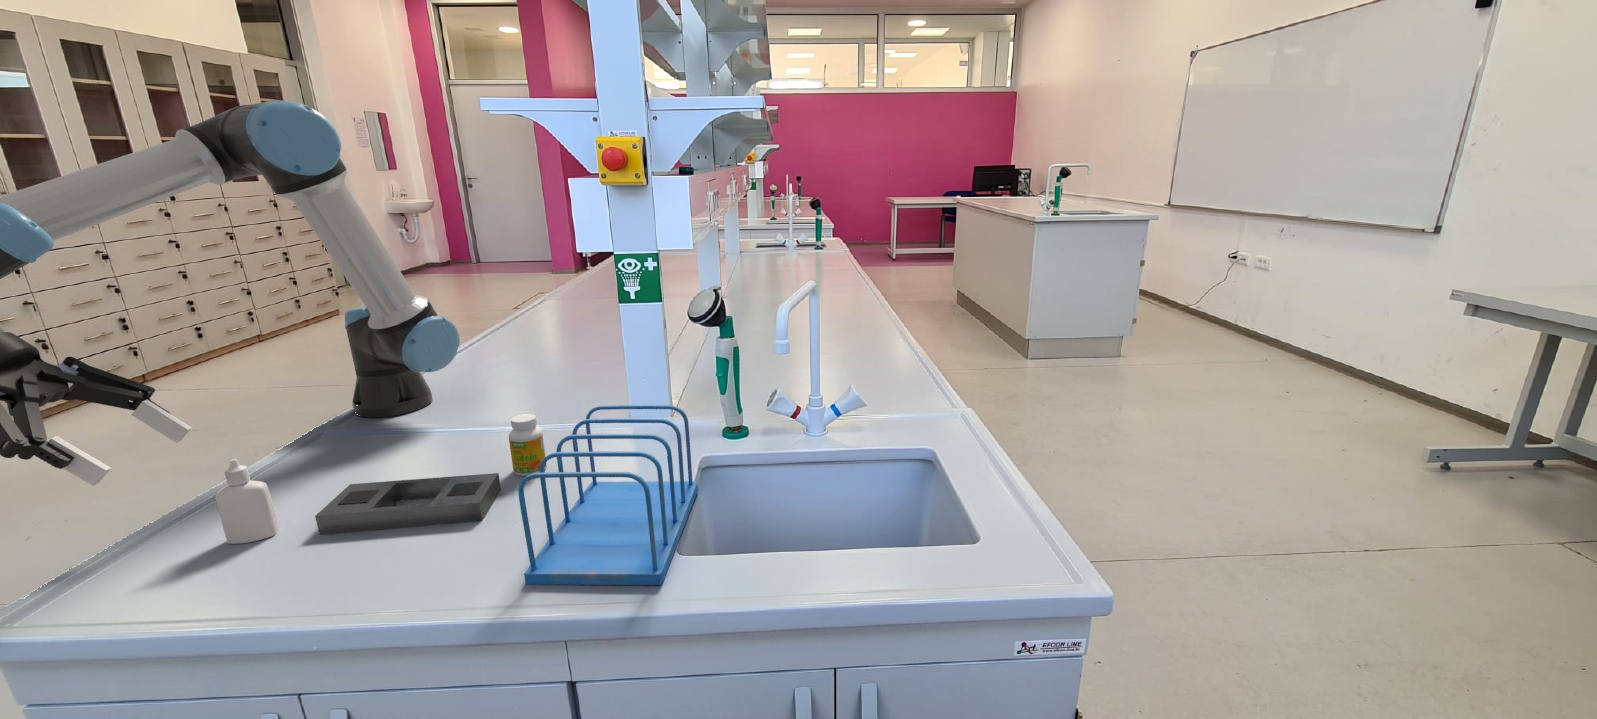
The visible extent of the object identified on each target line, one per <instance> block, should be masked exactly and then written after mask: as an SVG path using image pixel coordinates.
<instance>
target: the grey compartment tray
mask: <svg viewBox="0 0 1597 719" xmlns="http://www.w3.org/2000/svg"><path fill="white" fill-rule="evenodd" d="M501 491H502V487H501V480H500V475H499V472H498V473H497V472H496V473H483V474H482V473H481V474H480V473H479V474H470V475H469V474H468V475H458V476H457V475H455V476H443V477H442V476H441V477H427V478H414V479H413V478H412V479H402V480H401V479H400V480H391V481H390V480H389V481H375V482H373V481H372V482H361V483H360V482H359V483H350V484H348V485H347V486H346V488H344V489H343V490H342V491H341V492H340V493H338V495H336V496H335V498H333V499H332V500H331V501H329V503H328V504H326V506H324V508H321V510H320V511H319V512H318V513H317V514H315V516H314V517H315V521H316V526H317V530H318V534H319V536H321V535H331V534H332V535H333V534H344V533H353V532H354V533H355V532H369V531H380V530H391V529H401V528H412V527H413V528H414V527H426V526H436V525H437V526H438V525H439V526H440V525H447V524H451V525H452V524H461V523H474V522H482V521H484V519H485V517H486V515H487V514H488V513H489V510H490V509H491V507H492V506H493V504H494V502H495V500H497V499H496V498H497V497H498V496H499V494H500V493H501ZM424 499H433V500H432V502H431V503H422V504H410V505H398V506H397V504H398V503H399V502H400V501H411V500H424Z"/></svg>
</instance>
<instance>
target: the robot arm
mask: <svg viewBox="0 0 1597 719" xmlns="http://www.w3.org/2000/svg"><path fill="white" fill-rule="evenodd" d="M174 136H175V138H174V139H170V140H168V141H165V142H162V143H159V144H156V145H153V146H150V147H146V148H144V149H140V150H137V151H134V152H131V153H129V154H124V155H122V156H120V157H116V158H113V159H109V160H106V161H103V162H100V163H98V164H95V165H92V166H88V167H85V168H82V169H79V170H76V171H73V172H70V173H67V174H64V175H62V176H58V177H55V178H52V179H49V180H46V181H42V182H41V183H37V184H34V185H31V186H28V187H25V188H21V189H19V190H15V191H13V192H9V193H7V194H2V195H0V280H1V279H3V278H5V277H7V276H8V275H10V274H12V273H14V272H16V271H18V270H20V269H21V268H23V267H25V266H27V265H28V264H30V263H32V264H33V263H35V262H37V259H39V258H41V256H43V255H45V254H46V253H49V252H50V251H51V250H52V249H53V248H54V246H55V241H57V240H59V239H62V238H64V237H67V236H70V235H72V234H75V233H78V232H80V231H82V230H83V231H84V230H85V229H88V228H91V227H95V226H96V225H98V224H99V225H100V224H101V223H105V222H106V221H110V220H112V219H115V218H118V217H120V216H123V215H125V214H128V213H131V212H134V211H136V210H138V209H141V208H145V207H146V206H150V205H152V204H155V203H158V202H160V201H163V200H166V199H169V198H171V197H173V196H176V195H179V194H181V193H183V192H187V191H190V190H191V189H195V188H198V187H200V186H203V185H206V184H208V183H212V184H214V185H218V186H221V185H223V184H226V183H229V182H232V181H235V180H239V179H244V178H246V177H254V176H262V177H263V178H264V179H265V181H266V182H267V183H268V186H270V188H271V189H272V191H273V192H274V194H276V196H277V197H281V198H284V199H287V200H290V201H291V202H293V204H294V205H295V207H296V208H297V209H298V211H299V212H300V213H301V215H302V218H304V219H305V221H306V223H307V224H308V226H309V227H310V228H311V229H312V231H313V233H314V234H315V236H317V238H318V240H319V241H320V242H321V243H322V245H323V248H325V249H326V251H327V252H328V254H329V257H331V259H332V260H333V261H334V262H335V264H336V266H337V267H338V269H339V270H340V272H341V273H342V274H343V276H344V277H345V279H346V280H347V282H348V283H349V284H350V286H351V288H352V289H353V290H354V291H355V293H356V294H357V296H358V297H359V299H360V301H361V302H362V303H363V305H364V306H359V307H354V308H350V309H348V310H346V312H345V313H344V323H345V325H344V329H345V330H346V334H347V339H348V343H349V344H348V345H349V347H350V352H351V356H352V361H353V366H354V367H353V368H354V369H355V370H354V372H355V375H356V376H355V377H356V381H355V385H354V391H353V397H352V403H351V404H352V409H353V408H354V409H353V412H354V411H355V412H356V414H358V415H360V416H359V417H361V416H365V417H364V418H386V417H393V416H399V415H404V414H408V413H411V412H415V411H418V410H420V409H423V408H425V407H427V406H429V405H430V404H431V403H432V402H433V399H434V398H433V393H432V390H431V388H430V387H429V385H428V382H427V381H426V380H425V378H424V376H423V374H422V373H434V372H437V371H440V370H442V369H445V368H446V367H447V366H449V365H450V364H451V362H453V360H454V359H455V357H456V356H457V353H458V349H459V348H460V343H461V338H460V337H461V336H460V332H459V330H458V328H457V327H456V325H455V324H454V323H453V321H451V320H449V319H448V318H446V317H444V316H441V315H438V313H437V312H436V310H435V308H434V307H433V305H432V303H431V302H430V300H429V299H428V298H427V297H426V296H425V295H421V294H416V293H415V292H414V291H413V289H412V287H411V286H410V284H409V283H408V281H407V280H406V278H405V276H404V274H403V273H402V271H401V270H400V269H399V267H398V265H397V263H396V262H395V260H394V258H393V257H392V255H391V254H390V252H389V251H388V250H387V248H386V246H385V245H384V244H383V242H382V240H381V238H380V237H379V235H378V233H377V232H376V230H375V229H374V227H373V226H372V223H370V221H369V220H368V218H367V216H366V215H365V213H364V211H363V210H362V209H361V207H360V205H359V204H358V202H357V201H356V199H355V197H354V196H353V194H352V192H351V191H350V189H349V188H348V186H347V185H346V183H345V179H346V176H347V173H348V169H347V167H346V166H345V164H344V163H343V160H342V159H341V150H342V142H341V139H340V136H339V133H338V131H337V129H336V128H335V127H334V125H333V124H332V122H331V121H330V120H329V119H328V118H327V117H326V116H324V115H323V114H322V113H320V111H318V110H316V109H314V108H312V107H310V106H308V105H306V104H303V103H299V102H295V101H286V100H276V99H274V100H270V101H269V100H268V101H263V102H257V103H252V104H243V105H238V106H235V107H232V108H229V109H228V110H225V111H222V112H221V113H218V114H216V115H215V116H212V117H210V118H207V119H206V120H203V121H200V122H199V123H196V124H193V125H190V126H187V127H184V128H181V129H178V130H177V131H176V133H175V135H174ZM69 384H71V385H69ZM155 392H156V389H155V388H154V387H152V386H150V385H147V384H144V383H141V382H138V381H135V380H133V379H129V378H126V377H123V376H121V375H118V374H114V373H112V372H109V371H106V370H103V369H100V368H98V367H94V366H91V365H89V364H87V363H85V362H84V361H81V360H79V359H78V358H75V357H74V356H66V357H65V358H64V359H63V361H62V362H61V363H59V364H52V363H48V362H46V361H45V360H43V359H42V357H41V354H40V351H39V349H38V348H37V347H35V346H34V345H32V344H31V343H30V342H27V341H26V340H25V339H22V338H21V337H20V336H19V335H17V334H15V333H13V332H11V331H10V332H9V331H7V329H6V328H5V327H4V326H3V325H2V324H0V456H1V457H3V458H5V459H12V458H14V457H15V456H16V455H17V458H19V459H21V460H25V461H27V460H28V461H29V460H30V459H32V458H33V457H34V456H35V457H36V458H38V459H40V460H41V461H43V462H45V463H47V464H49V465H50V466H52V467H54V468H56V469H60V470H62V469H63V470H65V471H67V472H68V473H70V474H72V475H74V476H75V477H77V478H79V479H81V480H82V481H84V482H85V483H88V484H89V485H91V486H95V485H98V484H99V483H100V482H101V481H102V480H103V478H104V477H105V476H106V475H107V474H108V472H109V471H110V470H111V469H112V467H111V466H109V465H107V464H105V463H104V462H102V461H100V460H99V459H97V458H95V457H94V456H92V455H90V454H88V453H87V452H85V451H83V450H82V449H80V448H78V447H76V446H75V445H73V444H72V443H70V442H68V441H66V440H65V439H63V438H62V437H60V436H58V435H55V436H54V437H51V438H50V439H49V440H48V436H47V432H46V429H45V424H44V420H43V417H42V413H41V409H40V408H42V407H43V406H45V405H47V404H50V403H51V404H52V403H56V402H58V401H69V402H71V401H75V400H78V401H84V402H88V403H93V404H99V405H104V406H109V407H113V408H119V409H123V410H129V411H133V412H132V413H131V416H132V417H133V418H136V419H137V420H139V421H140V422H142V423H144V424H145V425H147V426H148V427H151V429H153V430H155V431H156V432H159V433H160V434H161V435H163V436H165V437H166V438H168V439H169V440H171V441H173V442H175V443H179V442H181V441H182V440H183V439H184V438H185V437H186V435H187V434H188V433H189V432H190V431H191V430H192V429H193V427H192V426H190V425H189V424H187V423H186V422H183V421H182V420H181V419H179V418H178V417H176V416H174V415H172V413H171V411H169V410H168V409H165V408H164V407H162V406H161V405H159V404H158V403H156V402H154V400H152V399H151V397H152V396H153V395H154V393H155ZM1 402H5V404H6V405H7V408H8V411H7V410H6V408H5V407H4V406H3V404H2V403H1ZM356 405H358V406H356Z"/></svg>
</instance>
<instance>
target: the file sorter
mask: <svg viewBox="0 0 1597 719" xmlns="http://www.w3.org/2000/svg"><path fill="white" fill-rule="evenodd" d="M600 410H601V411H603V410H605V411H607V410H609V411H610V410H672V411H676V412H677V413H678V414H680V415H681V417H682V419H683V421H684V422H683V423H684V432H685V433H684V434H685V446H686V461H687V474H688V480H687V481H685V474H684V473H685V472H684V459H683V456H684V455H683V446H682V444H683V443H682V435H681V431H680V429H679V427H678V426H677V425H676V424H675V423H674V422H672V421H670V420H668V419H664V418H591V416H592V414H594V413H595V412H596V411H600ZM591 424H665V425H667V426H670V427H671V428H672V430H674V432H675V435H676V440H677V441H676V443H677V452H678V466H679V467H678V470H679V480H678V481H675V479H674V478H675V477H674V465H673V455H672V449H671V446H670V445H669V443H668V442H667V441H666V439H664V438H663V437H661V436H659V435H657V434H652V433H651V434H650V433H649V434H647V433H642V434H641V433H640V434H639V433H638V434H637V433H630V434H629V433H625V434H624V433H621V434H619V433H603V434H602V433H600V434H599V433H597V434H593V433H591V432H592V431H591ZM584 425H585V432H586V433H585V434H580V433H579V434H578V433H577V432H578V429H579V428H581V427H582V426H584ZM689 428H690V426H689V419H688V416H687V414H686V412H684V410H683V409H681V408H680V407H679V406H675V405H670V404H654V405H653V404H650V405H649V404H634V405H633V404H630V405H629V404H628V405H627V404H626V405H625V404H624V405H617V404H615V405H614V404H613V405H597V406H595V407H593V408H592V409H590V410H589V411H588V412H587V414H586V416H585V419H583V420H581V421H579V422H578V423H577V424H576V425H575V426H574V427H573V430H572V434H569V435H567V436H565V437H563V438H562V439H561V440H560V441H559V443H558V444H557V446H556V451H555V452H551V453H549V454H547V455H545V458H544V459H543V460H542V462H541V464H540V468H539V472H540V473H533V474H530V475H528V476H524V478H523V479H522V480H521V481H520V484H519V486H518V490H517V491H518V495H517V496H518V500H519V507H520V513H521V519H522V525H523V529H524V537H525V541H526V542H525V543H526V549H527V553H528V559H529V566H528V567H527V568H526V570H525V571H524V573H523V576H524V583H525V585H527V586H528V585H531V586H532V585H533V586H534V585H583V586H584V585H591V586H592V585H601V586H602V585H605V586H608V585H609V586H611V585H613V586H616V585H617V586H619V585H620V586H626V585H627V586H631V585H632V586H634V585H635V586H641V585H642V586H661V585H663V583H664V580H665V577H666V575H667V573H668V570H669V567H670V564H671V561H672V559H673V556H674V554H675V551H676V548H677V546H678V543H679V541H680V538H681V536H682V533H683V531H684V529H685V528H684V527H685V525H686V523H687V520H688V518H689V515H690V512H691V510H692V507H693V505H694V501H695V499H696V497H697V494H698V491H699V486H698V482H697V481H695V480H694V481H693V470H692V455H691V454H692V453H691V452H692V451H691V441H690V440H691V438H690V437H691V436H690V429H689ZM605 439H606V440H610V439H611V440H617V439H618V440H627V439H628V440H655V441H657V442H659V443H661V444H662V446H664V448H665V450H666V454H667V455H666V456H667V457H666V458H667V465H668V475H669V481H668V480H666V481H664V478H663V476H664V475H663V469H662V465H661V463H660V462H659V460H658V459H657V458H656V457H655V456H653V455H652V454H650V453H648V452H645V451H594V449H593V442H592V440H605ZM571 440H572V447H573V450H572V451H562V446H563V445H564V444H565V443H566V442H569V441H571ZM578 440H587V446H588V447H587V448H588V451H579V446H578V445H579V444H578ZM582 457H586V458H587V457H589V462H590V463H589V464H590V471H581V464H580V458H582ZM594 457H604V458H605V457H608V458H609V457H610V458H611V457H613V458H614V457H615V458H616V457H622V458H623V457H625V458H627V457H635V458H637V457H638V458H639V457H640V458H646V459H647V460H649V461H650V462H652V463H653V464H654V466H655V468H656V472H657V478H658V479H657V480H658V481H655V480H654V481H651V480H650V481H648V480H647V481H646V480H644V478H643V477H642V476H640V475H639V474H636V473H633V472H628V471H596V468H595V466H596V465H595V458H594ZM554 458H556V461H557V468H558V469H557V470H558V472H557V471H555V472H554V471H553V472H547V471H546V472H545V470H544V467H545V464H546V465H547V462H548V461H549V460H551V459H554ZM563 458H574V466H575V471H564V465H563ZM546 478H547V479H548V478H551V479H553V478H555V479H556V478H559V484H560V490H561V497H562V498H561V500H562V504H563V505H562V506H563V510H564V511H563V512H564V518H563V519H562V521H561V522H560V523H559V525H558V526H557V528H555V530H554V531H553V525H552V524H553V523H552V516H551V509H550V503H549V496H548V489H547V482H546V481H547V480H546ZM565 478H576V480H577V487H578V494H579V498H578V499H577V500H576V502H575V503H574V505H573V506H572V508H571V509H570V510H569V504H568V496H567V488H566V481H565ZM583 478H592V481H590V483H589V485H588V486H587V487H586V489H585V490H584V489H583ZM597 478H627V479H628V478H629V479H632V480H633V481H631V480H630V481H628V480H626V481H624V480H623V481H597ZM533 479H539V480H540V487H541V493H542V502H543V508H544V514H545V523H546V528H547V534H548V535H547V536H548V539H547V541H546V543H545V544H544V545H543V547H542V548H541V549H540V551H539V552H538V554H537V555H536V556H535V553H534V552H535V551H534V545H533V541H532V540H533V539H532V535H531V529H530V528H531V527H530V523H529V517H528V511H527V506H526V498H525V485H526V484H527V483H528V482H529V481H530V480H533Z"/></svg>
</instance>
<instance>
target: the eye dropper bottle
mask: <svg viewBox="0 0 1597 719" xmlns="http://www.w3.org/2000/svg"><path fill="white" fill-rule="evenodd" d="M224 476H225V479H226V482H227V485H225V486H223V487H222V488H220V489H219V490H218V491H217V493H216V494H215V496H214V498H215V503H216V506H217V510H218V515H219V518H220V521H221V524H222V528H223V532H224V536H225V538H226V542H227V543H228V544H230V545H240V544H248V543H253V542H254V543H255V542H257V541H261V540H265V539H267V538H268V539H269V538H271V537H273V536H275V535H276V534H277V532H278V530H279V524H278V519H277V516H276V513H275V512H276V511H275V508H274V505H273V500H272V496H271V492H270V489H269V486H268V484H267V483H266V482H264V481H260V480H251V477H250V472H249V469H248V466H247V465H243V464H240V462H239V461H238V459H237V458H232V459H230V460H229V468H227V469H225V470H224Z"/></svg>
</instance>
